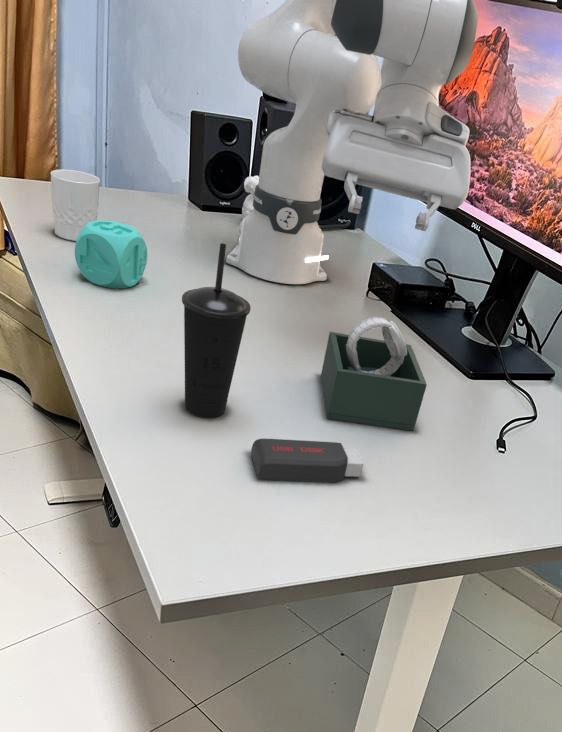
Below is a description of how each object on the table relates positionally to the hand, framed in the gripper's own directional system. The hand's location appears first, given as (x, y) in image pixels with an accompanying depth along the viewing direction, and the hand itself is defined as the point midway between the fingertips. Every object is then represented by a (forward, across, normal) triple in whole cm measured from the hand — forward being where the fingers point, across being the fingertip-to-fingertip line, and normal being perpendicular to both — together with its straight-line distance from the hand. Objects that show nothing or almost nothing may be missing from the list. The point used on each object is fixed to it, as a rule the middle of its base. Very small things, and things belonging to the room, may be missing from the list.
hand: (388, 219), depth 103 cm
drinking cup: (+31, -19, -3) cm, 37 cm away
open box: (+24, +2, +4) cm, 25 cm away
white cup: (-4, -48, +41) cm, 64 cm away
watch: (+24, +1, +4) cm, 24 cm away
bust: (-24, -18, +63) cm, 70 cm away
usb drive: (+38, -6, -11) cm, 40 cm away
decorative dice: (+7, -38, +27) cm, 47 cm away
